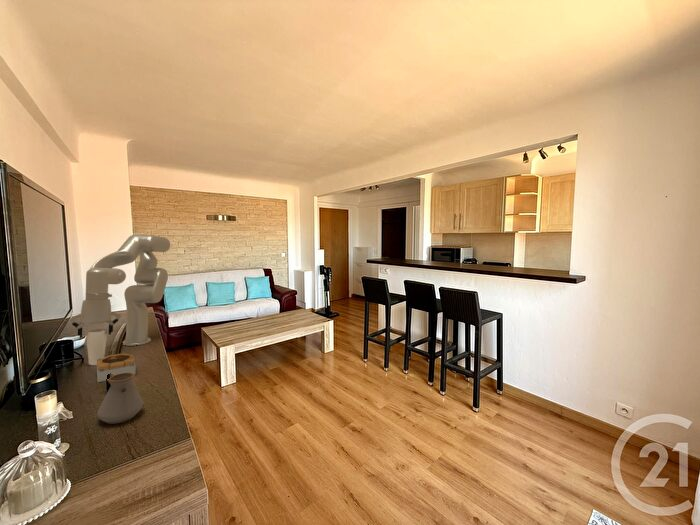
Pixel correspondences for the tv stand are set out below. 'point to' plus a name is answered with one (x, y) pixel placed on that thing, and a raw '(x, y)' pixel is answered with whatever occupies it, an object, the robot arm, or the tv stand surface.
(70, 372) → the tv stand surface
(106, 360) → the octagon ring knob plate
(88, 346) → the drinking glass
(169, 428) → the tv stand surface
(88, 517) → the tv stand surface
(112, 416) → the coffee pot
